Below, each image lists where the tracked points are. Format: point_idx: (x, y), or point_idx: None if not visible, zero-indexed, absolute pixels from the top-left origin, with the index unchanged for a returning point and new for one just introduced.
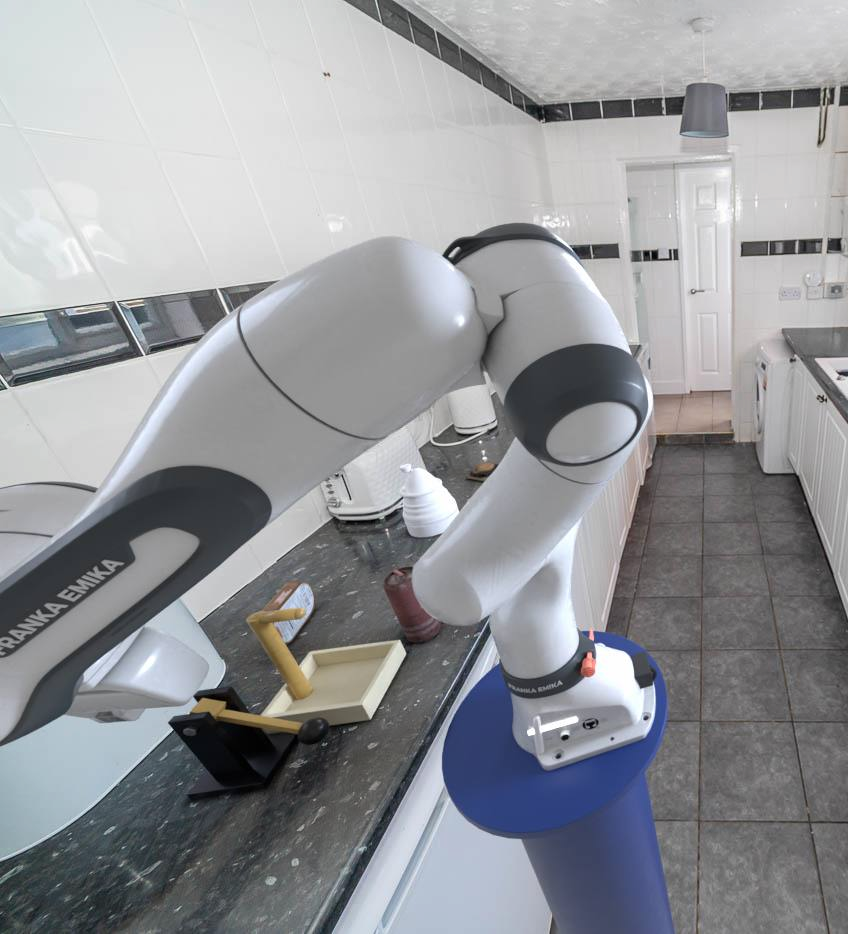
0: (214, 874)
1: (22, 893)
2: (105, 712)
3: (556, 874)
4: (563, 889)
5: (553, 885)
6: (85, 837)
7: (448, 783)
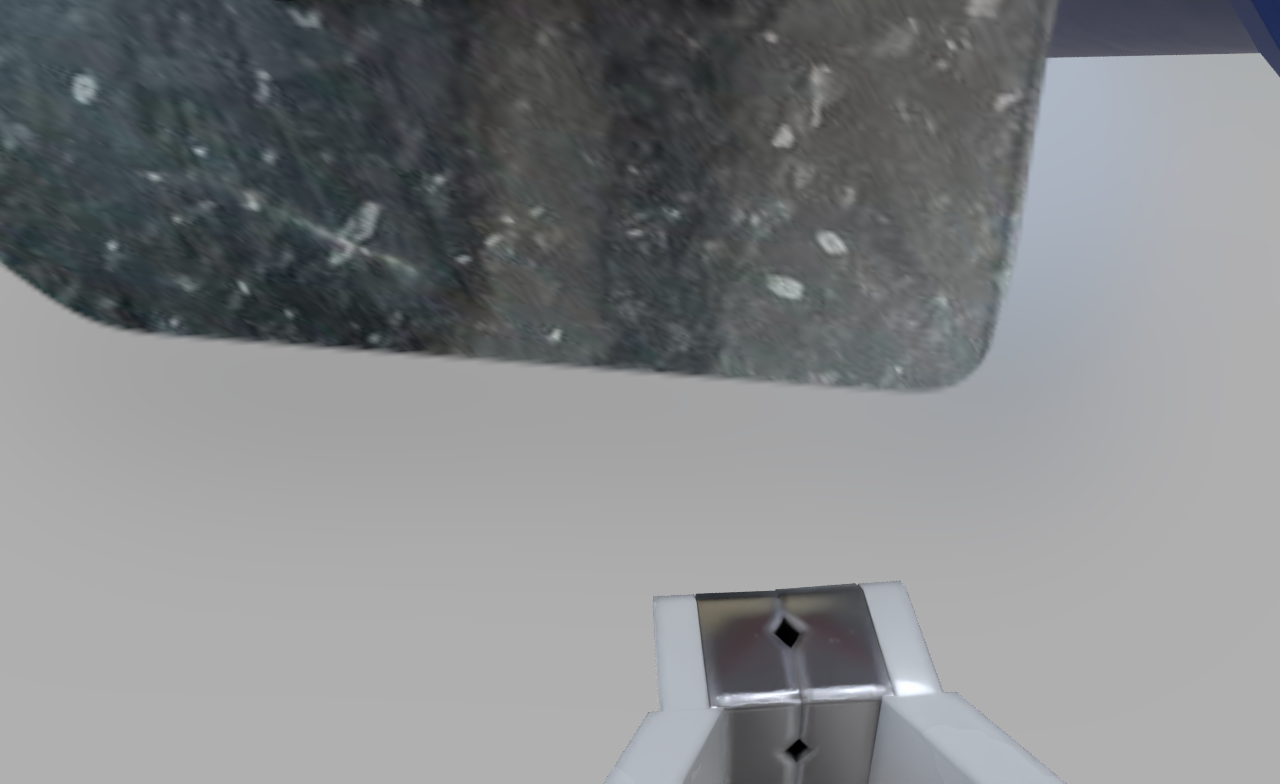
0: (589, 257)
1: (26, 260)
2: (773, 781)
3: (1223, 46)
4: (1189, 49)
5: (1166, 40)
6: (24, 108)
7: (1272, 8)
